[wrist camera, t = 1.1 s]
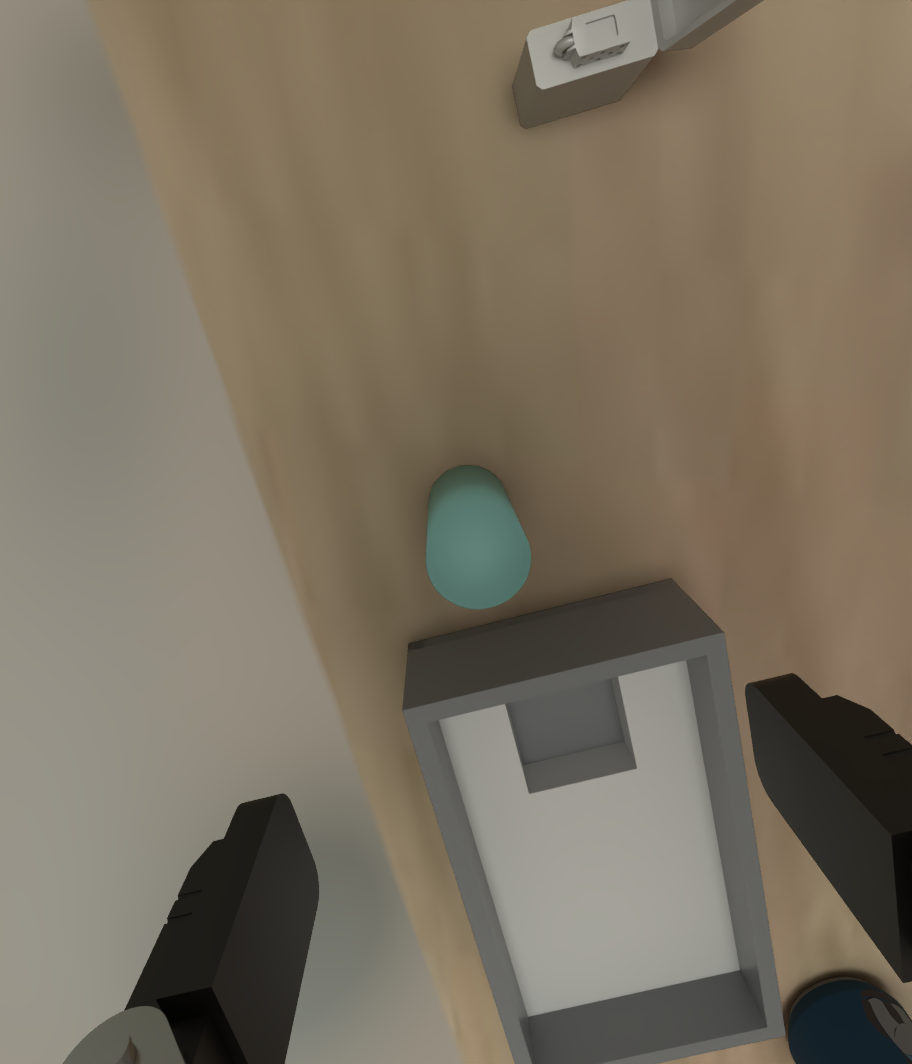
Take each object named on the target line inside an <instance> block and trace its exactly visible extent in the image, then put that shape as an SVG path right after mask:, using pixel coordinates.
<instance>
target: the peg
mask: <svg viewBox="0 0 912 1064" xmlns="http://www.w3.org/2000/svg"><path fill="white" fill-rule="evenodd" d="M530 566H531V550H530V546H529V543H528V540H527V538H526V535H525V533H524V531H523V529H522V527H521V524H520V522H519V520H518V518H517V516H516V513H515V511H514V509H513V507H512V505H511V502H510V500H509V498H508V496H507V494H506V491H505V489H504V487H503V485H502V483H501V482H500V481H499V479H498V478H497V477H496V476H495V475H494V474H493V473H491V472H490V471H488V470H486V469H484V468H482V467H478V466H473V465H464V466H458V467H455V468H452V469H450V470H448V471H447V472H445V473H444V474H442V475H441V476H440V477H439V478H438V479H437V481H436V482H435V483H434V485H433V487H432V489H431V492H430V495H429V502H428V523H427V545H426V567H427V572H428V575H429V578H430V580H431V582H432V584H433V586H434V587H435V589H436V590H437V591H438V592H439V593H440V594H441V595H442V596H443V597H444V598H445V599H447V600H448V601H450V602H452V603H453V604H455V605H458V606H461V607H464V608H469V609H486V608H491V607H495V606H497V605H500V604H502V603H504V602H506V601H507V600H509V599H510V598H512V597H513V596H514V595H515V594H516V593H517V592H518V591H519V590H520V589H521V587H522V586H523V584H524V583H525V581H526V579H527V577H528V574H529V571H530Z"/></svg>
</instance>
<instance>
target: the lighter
mask: <svg viewBox="0 0 912 1064" xmlns="http://www.w3.org/2000/svg"><path fill="white" fill-rule="evenodd" d="M762 1H763V0H627V1H624V2H621V3H618V4H614V5H611V6H608V7H605V8H601V9H598V10H595V11H592V12H589V13H585V14H582V15H579V16H576V17H572V18H569V19H566V20H563V21H559V22H556V23H553V24H550V25H547V26H543V27H540V28H537V29H534V30H531V31H530V32H529V34H528V36H527V39H526V42H525V45H524V48H523V52H522V55H521V58H520V62H519V65H518V68H517V72H516V75H515V78H514V82H513V85H512V88H513V92H514V97H515V101H516V106H517V111H518V115H519V120H520V124H521V126H523V127H524V128H526V129H527V128H530V127H533V126H537V125H540V124H543V123H547V122H550V121H553V120H557V119H560V118H563V117H567V116H570V115H573V114H576V113H580V112H583V111H586V110H590V109H593V108H596V107H600V106H603V105H606V104H610V103H613V102H616V101H619V100H621V98H622V97H623V96H624V94H625V93H626V92H627V90H628V89H629V88H630V87H631V85H632V84H633V83H634V81H635V80H636V79H637V78H638V76H639V75H640V74H641V72H642V71H643V70H644V69H645V67H646V66H647V65H648V63H649V62H650V61H651V59H652V58H653V57H654V56H655V54H656V52H657V50H658V49H660V50H661V51H663V52H664V51H672V50H680V49H689V48H693V47H694V46H696V45H697V44H699V43H700V42H702V41H703V40H705V39H706V38H708V37H709V36H711V35H712V34H714V33H715V32H717V31H718V30H720V29H721V28H723V27H724V26H726V25H727V24H729V23H730V22H732V21H733V20H735V19H736V18H738V17H739V16H741V15H742V14H744V13H745V12H747V11H748V10H750V9H751V8H753V7H754V6H756V5H757V4H759V3H760V2H762Z"/></svg>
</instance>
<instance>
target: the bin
mask: <svg viewBox="0 0 912 1064" xmlns="http://www.w3.org/2000/svg"><path fill="white" fill-rule="evenodd" d="M402 711H403V714H404V717H405V720H406V724H407V727H408V730H409V733H410V736H411V739H412V742H413V745H414V749H415V752H416V755H417V758H418V761H419V764H420V767H421V771H422V774H423V777H424V780H425V783H426V786H427V789H428V793H429V796H430V799H431V802H432V805H433V808H434V811H435V815H436V818H437V821H438V824H439V827H440V830H441V833H442V837H443V840H444V843H445V846H446V849H447V852H448V855H449V859H450V862H451V865H452V868H453V871H454V874H455V877H456V881H457V884H458V887H459V890H460V893H461V896H462V899H463V903H464V906H465V909H466V912H467V915H468V918H469V921H470V925H471V928H472V931H473V934H474V937H475V940H476V943H477V947H478V950H479V953H480V956H481V959H482V962H483V965H484V969H485V972H486V975H487V978H488V981H489V984H490V987H491V990H492V994H493V997H494V1000H495V1003H496V1006H497V1009H498V1012H499V1016H500V1019H501V1022H502V1025H503V1028H504V1031H505V1034H506V1038H507V1041H508V1044H509V1047H510V1050H511V1053H512V1056H513V1060H514V1063H515V1064H657V1063H661V1062H666V1061H671V1060H675V1059H680V1058H685V1057H689V1056H694V1055H699V1054H703V1053H708V1052H713V1051H717V1050H722V1049H726V1048H731V1047H736V1046H740V1045H745V1044H750V1043H754V1042H759V1041H764V1040H768V1039H773V1038H778V1037H782V1036H786V1034H785V1027H784V1021H783V1014H782V1007H781V1001H780V994H779V988H778V981H777V975H776V968H775V962H774V955H773V949H772V942H771V936H770V929H769V923H768V916H767V909H766V903H765V896H764V890H763V883H762V877H761V870H760V864H759V857H758V851H757V844H756V838H755V831H754V825H753V818H752V811H751V805H750V798H749V792H748V785H747V779H746V772H745V766H744V759H743V753H742V746H741V740H740V733H739V726H738V720H737V713H736V707H735V700H734V694H733V687H732V681H731V674H730V668H729V661H728V655H727V648H726V642H725V635H724V632H723V631H722V630H721V629H720V628H719V627H718V626H717V625H716V623H715V622H714V621H713V620H712V619H711V618H710V617H709V616H708V615H707V614H706V613H705V612H704V611H703V610H702V609H701V608H700V607H699V606H698V605H697V604H696V603H695V602H694V601H693V600H692V599H691V598H690V597H689V596H688V595H687V594H686V593H685V592H684V591H683V590H682V589H681V588H680V587H679V586H678V585H677V584H676V583H675V582H674V581H673V580H672V579H668V580H664V581H660V582H656V583H652V584H648V585H644V586H640V587H636V588H632V589H628V590H624V591H619V592H615V593H611V594H607V595H603V596H599V597H595V598H591V599H587V600H583V601H579V602H575V603H571V604H567V605H563V606H559V607H555V608H551V609H547V610H543V611H539V612H535V613H531V614H527V615H523V616H519V617H515V618H510V619H506V620H502V621H498V622H494V623H490V624H486V625H482V626H478V627H474V628H470V629H466V630H462V631H458V632H454V633H450V634H446V635H442V636H438V637H434V638H430V639H426V640H422V641H418V642H414V643H410V644H408V654H407V665H406V676H405V687H404V698H403V709H402Z"/></svg>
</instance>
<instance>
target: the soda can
mask: <svg viewBox="0 0 912 1064" xmlns="http://www.w3.org/2000/svg"><path fill="white" fill-rule="evenodd" d="M788 1041H789V1048H790V1052H791V1055H792V1057H793V1059H794V1061H795V1063H796V1064H912V1020H911V1019H910V1017H909V1016H908V1014H907V1013H906V1011H905V1010H904V1009H903V1007H902V1006H901V1005H900V1004H899V1003H898V1002H897V1001H896V1000H895V999H894V998H893V997H891V996H890V995H888V994H887V993H885V992H884V991H882V990H880V989H878V988H876V987H875V986H873V985H871V984H869V983H867V982H866V981H863V980H861V979H858V978H853V977H835V978H830V979H826V980H823V981H820V982H818V983H816V984H814V985H812V986H810V987H809V988H807V989H806V990H805V991H804V992H802V993H801V994H800V995H799V996H798V998H797V999H796V1000H795V1002H794V1003H793V1005H792V1007H791V1010H790V1014H789V1030H788Z"/></svg>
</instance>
